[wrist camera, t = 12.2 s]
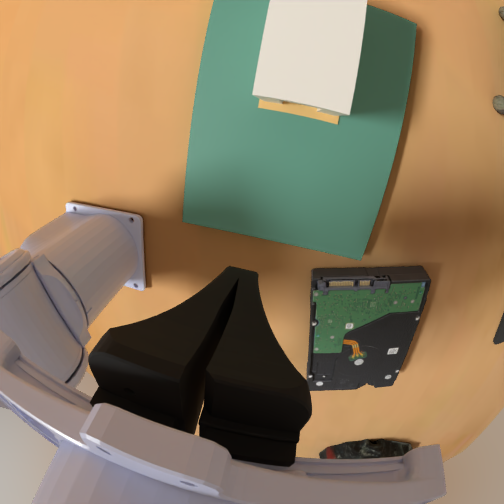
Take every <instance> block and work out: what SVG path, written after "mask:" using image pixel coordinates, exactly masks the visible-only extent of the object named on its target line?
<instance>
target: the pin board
mask: <svg viewBox="0 0 504 504" xmlns="http://www.w3.org/2000/svg"><path fill="white" fill-rule="evenodd" d="M269 2H270V0H214V2H213V6H212V10H211V14H210V19H209V23H208V28H207V33H206V37H205V42H204V47H203V52H202V58H201V63H200V69H199V75H198V81H197V87H196V93H195V100H194V107H193V114H192V122H191V130H190V138H189V147H188V157H187V167H186V178H185V191H184V205H183V221H182V222H185V223H190V224H195V225H200V226H205V227H210V228H215V229H219V230H224V231H229V232H234V233H238V234H243V235H248V236H253V237H257V238H262V239H266V240H271V241H276V242H280V243H285V244H289V245H294V246H298V247H303V248H308V249H312V250H316V251H321V252H325V253H330V254H334V255H339V256H343V257H347V258H352V259H356V260H360V261H361V259H362V256H363V254H364V251H365V248H366V246H367V243H368V240H369V237H370V235H371V232H372V229H373V226H374V223H375V220H376V217H377V214H378V211H379V208H380V205H381V202H382V199H383V196H384V192H385V189H386V186H387V182H388V179H389V175H390V172H391V168H392V164H393V161H394V157H395V153H396V149H397V145H398V141H399V137H400V132H401V128H402V123H403V118H404V114H405V109H406V103H407V98H408V92H409V86H410V80H411V73H412V66H413V58H414V49H415V39H416V26H417V24H415V23H413V22H411V21H409V20H407V19H404V18H402V17H399V16H397V15H394V14H392V13H389V12H387V11H384V10H381V9H378V8H376V7H373V6H370V5H367V7H366V16H365V25H364V32H363V40H362V47H361V54H360V60H359V66H358V72H357V78H356V84H355V89H354V95H353V100H352V105H351V110H350V115H343V116H333V115H329V114H325V113H321V112H317V108H315V107H311V106H306V105H302V104H297V103H292V102H286V101H283V104H278V103H272V102H266V101H263V100H261V99H259V98H257V97H255V96H254V95H252V93H253V87H254V82H255V76H256V70H257V65H258V59H259V54H260V48H261V43H262V38H263V32H264V27H265V22H266V17H267V12H268V7H269Z"/></svg>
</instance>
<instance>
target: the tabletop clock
mask: <svg viewBox="0 0 504 504" xmlns="http://www.w3.org/2000/svg"><path fill="white" fill-rule="evenodd" d="M499 14H500V16H501V17H502V19H504V7H500V8H499ZM493 106H494V108H495V110H496V111H497V112H498V113H500V114H504V97H503V96H501V95H498V96H495V97H494V99H493Z"/></svg>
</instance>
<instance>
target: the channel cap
mask: <svg viewBox="0 0 504 504" xmlns="http://www.w3.org/2000/svg"><path fill="white" fill-rule="evenodd" d="M366 7H367V0H270V2H269V7H268V12H267V17H266V22H265V27H264V32H263V38H262V43H261V48H260V54H259V59H258V65H257V70H256V76H255V82H254V87H253V93H252V95H254V96H255V97H257V98H259V99H261V100H263V101H266V102H272V103H278V104H283V101H286V102H292V103H297V104H302V105H306V106H311V107H315V108H317V112H321V113H325V114H329V115H333V116H343V115H350V110H351V105H352V100H353V95H354V89H355V84H356V78H357V72H358V66H359V60H360V54H361V47H362V40H363V32H364V25H365V16H366Z"/></svg>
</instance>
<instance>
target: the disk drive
mask: <svg viewBox="0 0 504 504" xmlns="http://www.w3.org/2000/svg"><path fill="white" fill-rule="evenodd" d="M311 280H312V281H311V292H310V293H311V294H310V309H311V310H310V333H309V334H310V335H309V352H308V362H307V380H306V381H307V382H308V386H309V390H310V391H323V390H352V389H358V388H360V387H361V386H363V385H365V384H366V383H368V385H372V386H373V385H374V387H375V388H377V387H386V386H392V385H393V383H394V381H395V380H396V378H397V376H398V374H399V370H400V368H401V366H402V364H403V361H404V359H405V357H406V354H407V352H408V349H409V347H410V344H411V341H412V339H413V336H414V333H415V331H416V328H417V325H418V323H419V319H420V316H421V313H422V311H423V309H424V305H425V302H426V299H427V298H426V297H427V294H428V291H429V287H430V283H431V279H430V278H429V276H428V274H427V273H426V271H425V270H424V268H423V267H422V266H410V267H405V266H402V267H376V268H364V267H363V268H327V269H326V268H314V269H312V277H311Z"/></svg>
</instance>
